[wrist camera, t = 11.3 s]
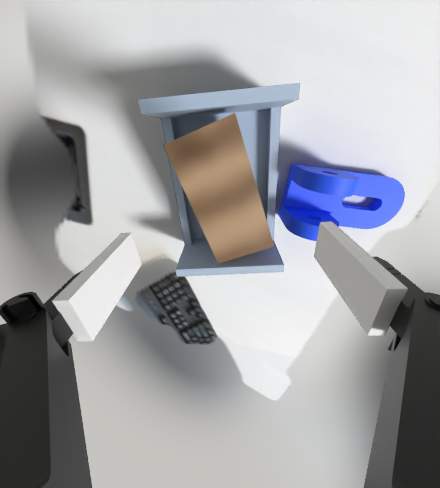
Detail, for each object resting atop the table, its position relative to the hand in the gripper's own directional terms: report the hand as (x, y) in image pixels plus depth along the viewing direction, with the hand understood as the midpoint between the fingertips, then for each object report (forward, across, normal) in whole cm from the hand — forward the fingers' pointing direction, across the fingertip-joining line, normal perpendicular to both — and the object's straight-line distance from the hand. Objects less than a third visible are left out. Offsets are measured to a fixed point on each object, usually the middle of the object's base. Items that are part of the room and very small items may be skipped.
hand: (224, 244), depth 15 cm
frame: (+21, 0, 0) cm, 21 cm away
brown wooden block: (+17, 0, 0) cm, 17 cm away
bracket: (+21, +18, -4) cm, 28 cm away
